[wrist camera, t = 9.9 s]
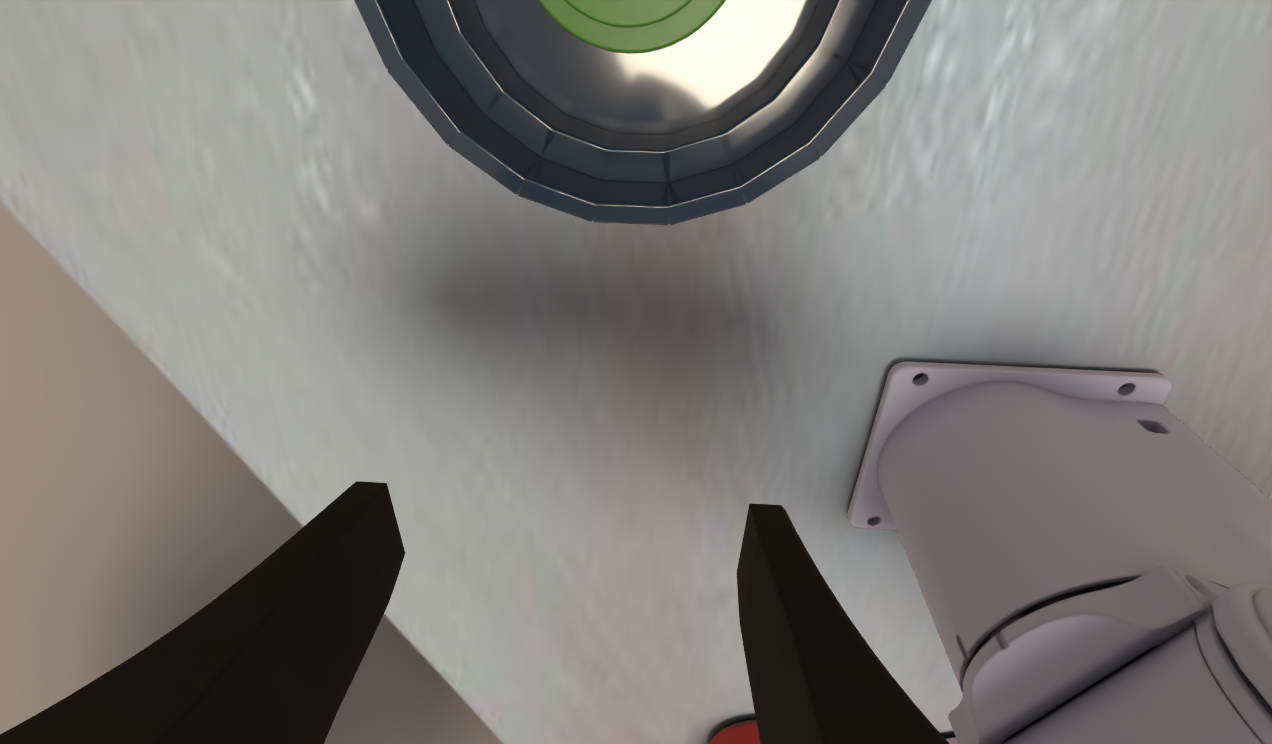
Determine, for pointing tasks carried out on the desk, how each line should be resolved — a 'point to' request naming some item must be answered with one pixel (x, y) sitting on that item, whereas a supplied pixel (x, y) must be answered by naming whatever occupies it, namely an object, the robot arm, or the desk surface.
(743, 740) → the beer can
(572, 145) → the bowl
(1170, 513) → the robot arm
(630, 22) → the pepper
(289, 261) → the desk surface
